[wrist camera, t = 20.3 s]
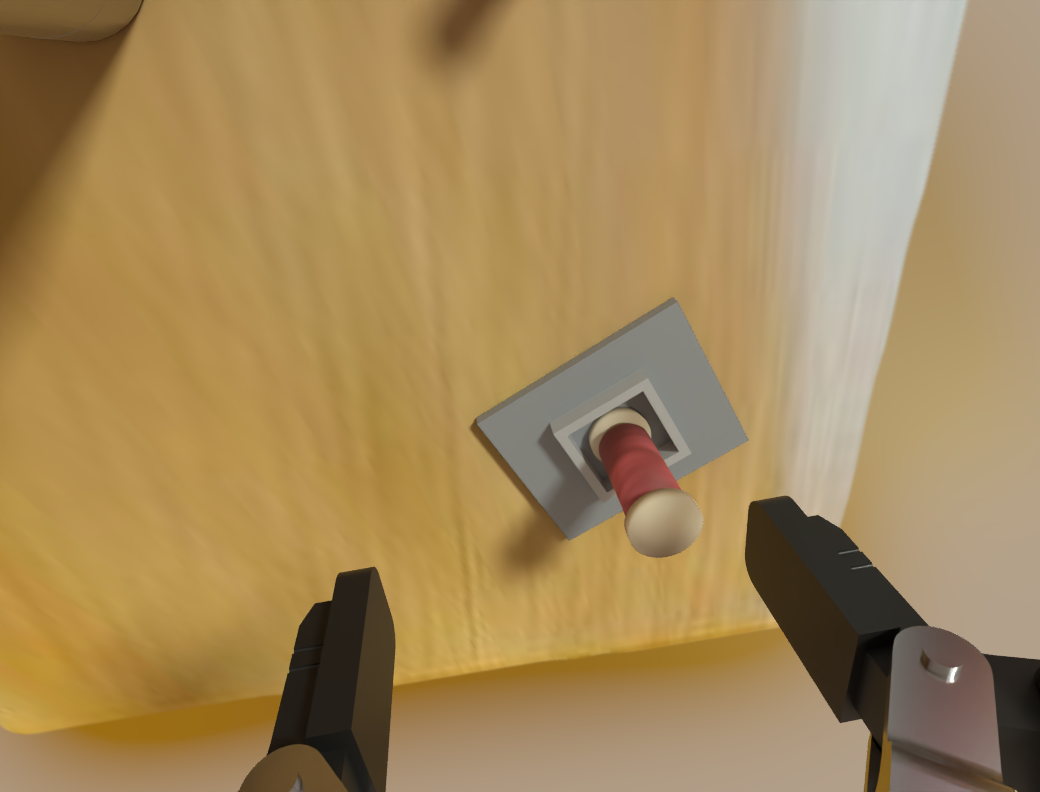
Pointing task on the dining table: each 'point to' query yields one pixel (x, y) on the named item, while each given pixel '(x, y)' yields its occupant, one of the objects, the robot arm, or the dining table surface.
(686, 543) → the bobbin
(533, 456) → the board
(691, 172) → the dining table surface
